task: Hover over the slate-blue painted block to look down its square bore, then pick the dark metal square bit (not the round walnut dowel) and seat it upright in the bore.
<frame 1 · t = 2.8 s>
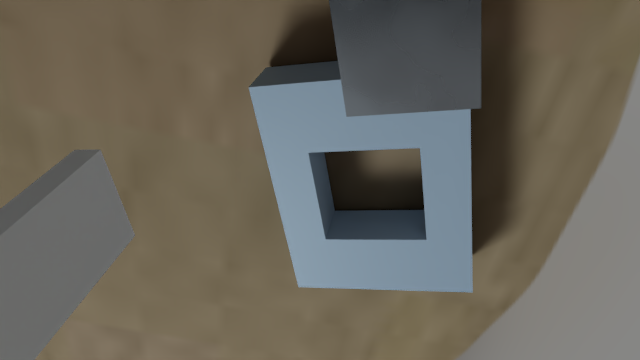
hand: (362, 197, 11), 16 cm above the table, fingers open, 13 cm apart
bore block: (375, 170, 30), on the table
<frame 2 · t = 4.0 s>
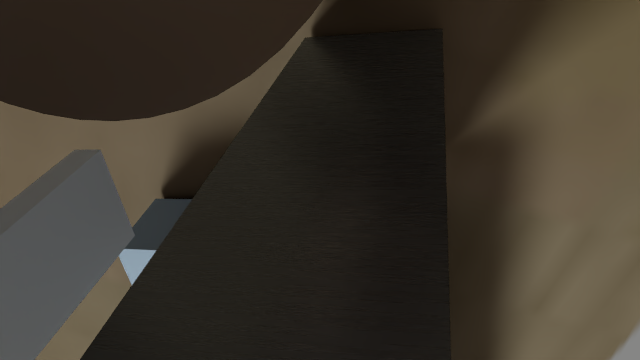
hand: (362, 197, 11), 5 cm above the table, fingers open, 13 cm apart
bore block: (313, 328, 22), on the table
square bit: (375, 97, 15), on the table
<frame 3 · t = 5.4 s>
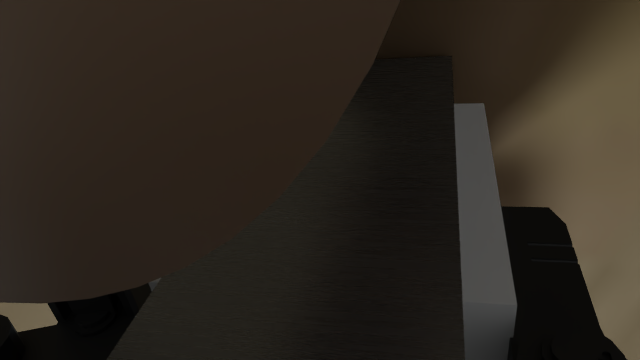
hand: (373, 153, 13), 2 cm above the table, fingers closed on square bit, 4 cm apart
square bit: (379, 125, 14), on the table, touching gripper
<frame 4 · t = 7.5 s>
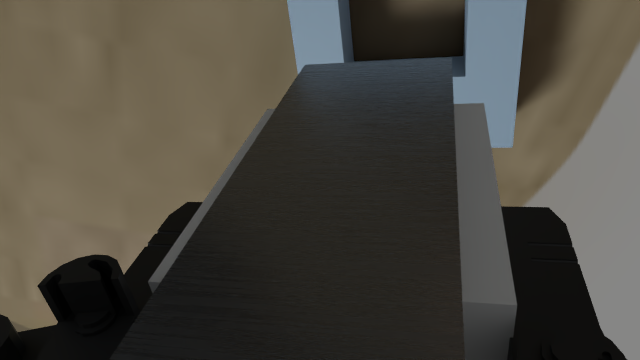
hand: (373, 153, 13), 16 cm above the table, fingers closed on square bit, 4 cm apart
bore block: (405, 3, 26), on the table
square bit: (379, 127, 15), point 14 cm above the table, touching gripper
when the fingers open (3 cm above the table, at t = 9.8 s): square bit drops 2 cm, resting in bore block.
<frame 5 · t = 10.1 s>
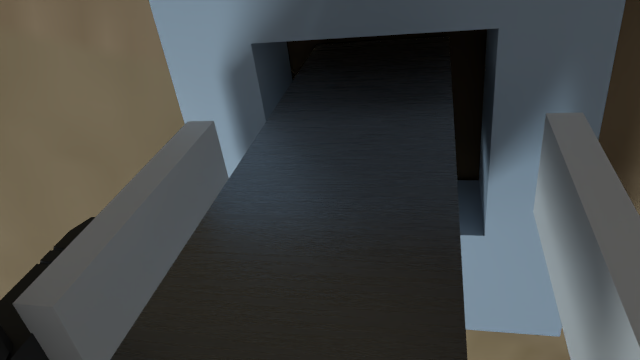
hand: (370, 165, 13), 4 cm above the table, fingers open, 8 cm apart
bore block: (385, 101, 16), on the table
square bit: (384, 101, 16), resting in bore block
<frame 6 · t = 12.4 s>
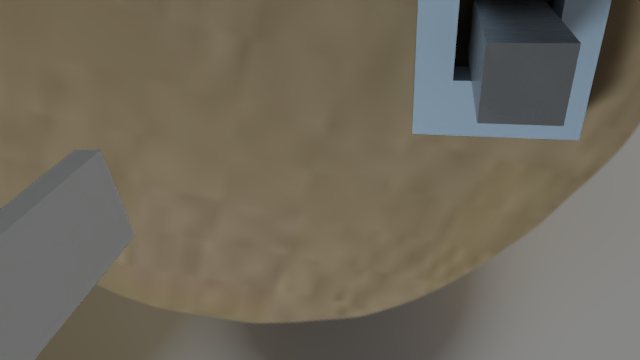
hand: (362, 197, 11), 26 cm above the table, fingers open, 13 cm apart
bore block: (501, 23, 33), on the table
square bit: (501, 23, 33), resting in bore block
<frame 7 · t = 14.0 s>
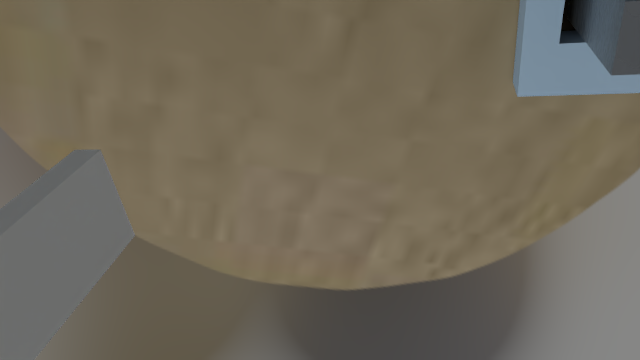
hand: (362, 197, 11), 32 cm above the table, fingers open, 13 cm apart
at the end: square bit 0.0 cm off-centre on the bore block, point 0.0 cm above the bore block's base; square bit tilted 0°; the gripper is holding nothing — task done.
